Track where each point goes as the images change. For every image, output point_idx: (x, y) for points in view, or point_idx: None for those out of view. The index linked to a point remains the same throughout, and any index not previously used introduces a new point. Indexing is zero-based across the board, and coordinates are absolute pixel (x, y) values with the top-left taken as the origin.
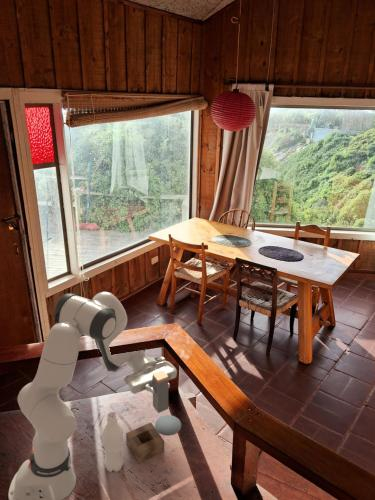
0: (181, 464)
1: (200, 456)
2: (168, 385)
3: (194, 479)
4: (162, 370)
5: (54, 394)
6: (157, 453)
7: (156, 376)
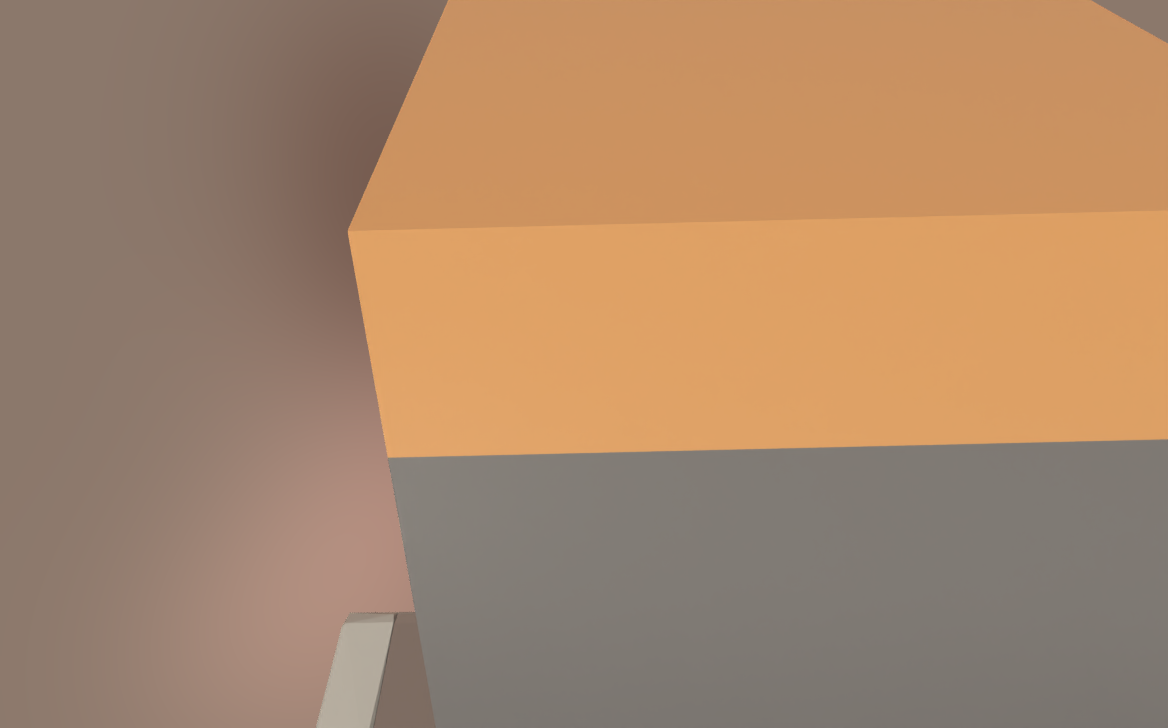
0: None
1: None
2: (412, 619)
3: None
4: (420, 203)
5: None
6: None
7: (1074, 47)
